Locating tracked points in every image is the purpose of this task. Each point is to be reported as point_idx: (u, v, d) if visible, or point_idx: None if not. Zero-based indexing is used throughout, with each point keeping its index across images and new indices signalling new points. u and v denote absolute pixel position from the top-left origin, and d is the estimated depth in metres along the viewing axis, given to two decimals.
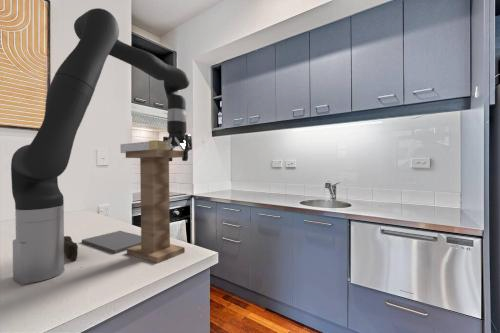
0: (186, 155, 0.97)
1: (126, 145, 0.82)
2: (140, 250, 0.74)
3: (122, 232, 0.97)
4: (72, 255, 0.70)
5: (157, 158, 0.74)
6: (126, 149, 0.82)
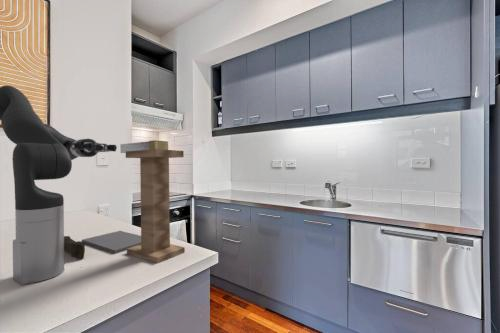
0: None
1: (126, 145, 0.82)
2: (140, 250, 0.74)
3: (122, 232, 0.97)
4: (80, 253, 0.71)
5: (157, 158, 0.74)
6: (126, 149, 0.82)
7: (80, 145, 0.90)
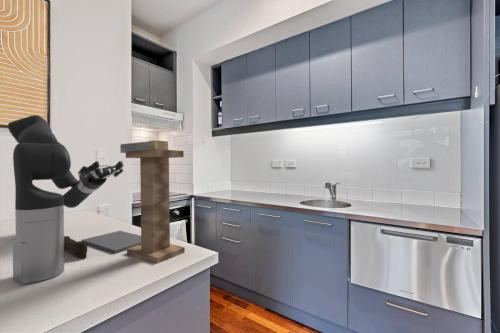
0: None
1: (126, 145, 0.82)
2: (140, 250, 0.74)
3: (122, 232, 0.97)
4: (83, 253, 0.72)
5: (157, 158, 0.74)
6: (126, 149, 0.82)
7: (86, 168, 0.87)
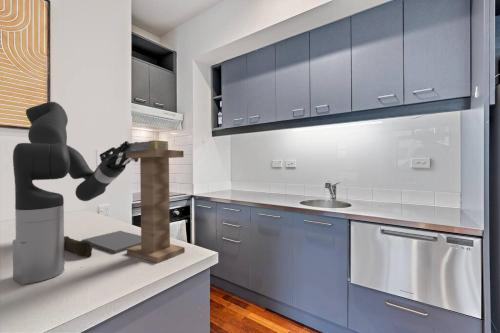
0: None
1: None
2: (140, 250, 0.74)
3: (122, 232, 0.97)
4: (88, 252, 0.73)
5: (157, 158, 0.74)
6: None
7: (115, 149, 0.81)
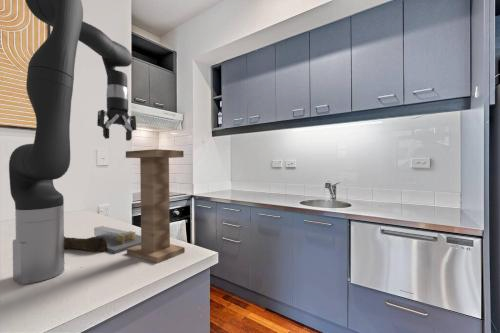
0: None
1: (99, 230, 0.91)
2: (140, 250, 0.74)
3: None
4: (103, 246, 0.78)
5: (157, 158, 0.74)
6: (99, 234, 0.91)
7: (101, 126, 0.91)
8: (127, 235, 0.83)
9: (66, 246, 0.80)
